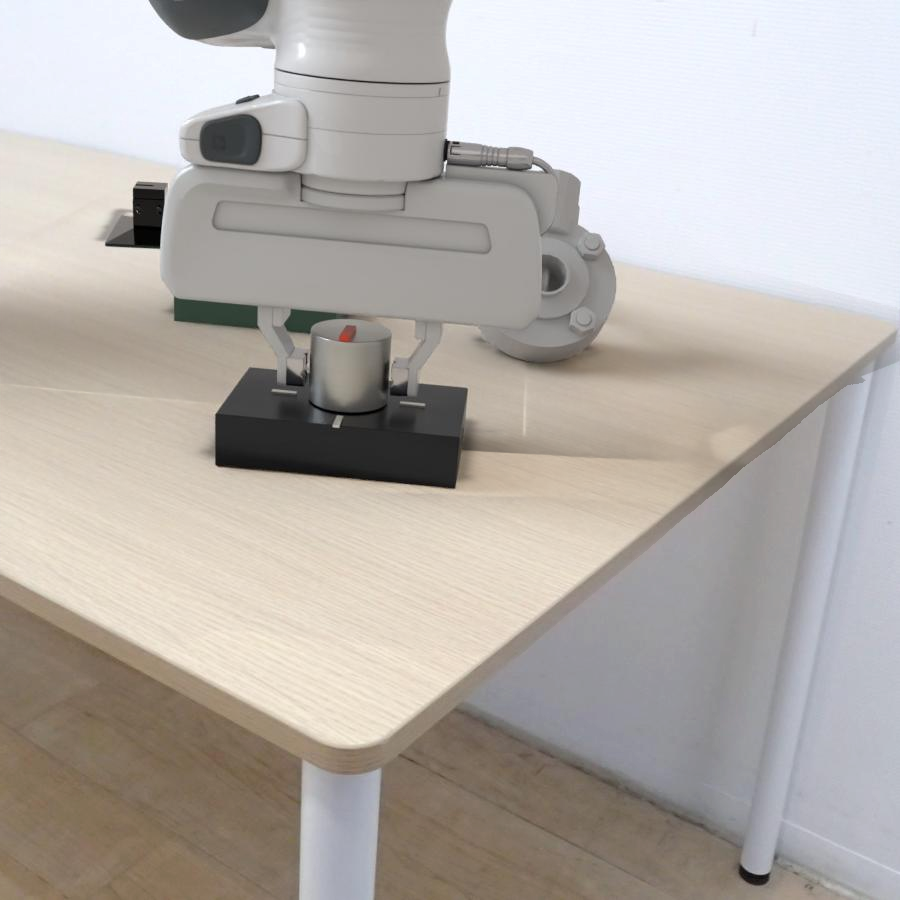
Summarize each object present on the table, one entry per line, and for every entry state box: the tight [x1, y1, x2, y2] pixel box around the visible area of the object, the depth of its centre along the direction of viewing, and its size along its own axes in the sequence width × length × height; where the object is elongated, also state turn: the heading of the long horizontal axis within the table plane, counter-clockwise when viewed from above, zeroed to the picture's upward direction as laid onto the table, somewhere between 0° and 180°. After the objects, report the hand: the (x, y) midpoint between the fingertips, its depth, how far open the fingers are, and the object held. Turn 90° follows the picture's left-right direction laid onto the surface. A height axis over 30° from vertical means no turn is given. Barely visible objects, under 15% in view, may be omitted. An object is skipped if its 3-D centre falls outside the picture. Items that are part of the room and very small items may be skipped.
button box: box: [173, 296, 348, 334], centre depth 89 cm, size 12×8×4 cm, turn 86°
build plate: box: [104, 181, 169, 250], centre depth 111 cm, size 12×7×5 cm, turn 8°
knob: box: [309, 318, 393, 413], centre depth 65 cm, size 4×4×4 cm
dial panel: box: [214, 366, 469, 490], centre depth 66 cm, size 13×9×3 cm, turn 86°
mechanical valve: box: [477, 168, 617, 364], centre depth 91 cm, size 10×18×15 cm
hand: (348, 388), depth 65 cm, fingers open, 5 cm apart
